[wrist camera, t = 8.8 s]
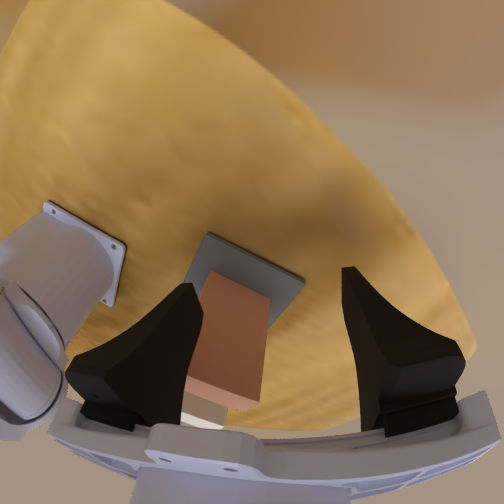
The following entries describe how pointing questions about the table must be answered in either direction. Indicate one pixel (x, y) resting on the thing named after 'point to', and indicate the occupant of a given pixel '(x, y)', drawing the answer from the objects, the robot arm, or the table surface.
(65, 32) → the table surface
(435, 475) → the robot arm
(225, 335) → the domino
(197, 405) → the domino
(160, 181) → the table surface
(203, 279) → the mat
